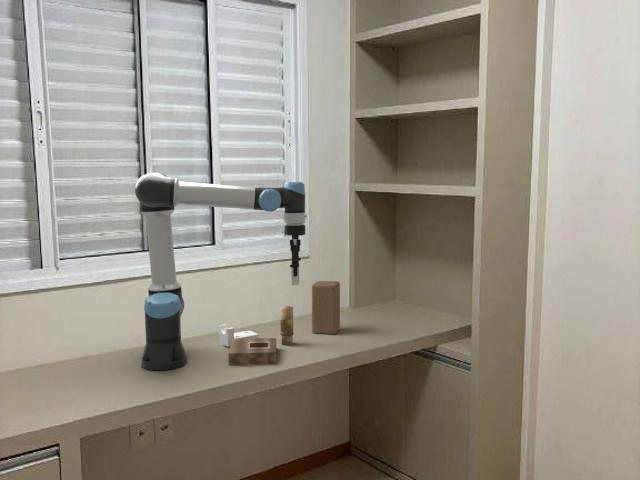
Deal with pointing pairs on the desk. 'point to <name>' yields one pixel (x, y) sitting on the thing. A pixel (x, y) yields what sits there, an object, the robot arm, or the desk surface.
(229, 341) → the bracket
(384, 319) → the desk surface
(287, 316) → the oak peg
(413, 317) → the desk surface
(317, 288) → the wooden block
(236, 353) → the seat board
